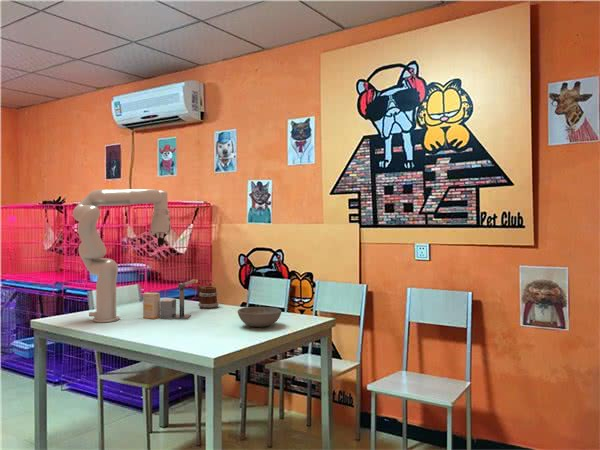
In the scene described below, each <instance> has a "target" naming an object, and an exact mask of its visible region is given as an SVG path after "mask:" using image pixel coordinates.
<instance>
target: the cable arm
mask: <svg viewBox="0 0 600 450" xmlns="http://www.w3.org/2000/svg"><path fill="white" fill-rule="evenodd" d="M198 281H199V280H198V279H190V280H189V281H185V282H180V283H177V285H178V286H177V287H178V288H184V289H185V288H186V286H190V285H192V284H193V285H194V284H198Z"/></svg>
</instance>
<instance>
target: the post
mask: <svg viewBox="0 0 600 450" xmlns="http://www.w3.org/2000/svg"><path fill="white" fill-rule="evenodd" d="M178 291H179V293H178V294H179V314H177V313H176V315H175V316H174V317H172V319H171V320H188V319H190V318H191V317H192V314H191V313H190V314H189V313H188V314H185V288H179V289H178Z"/></svg>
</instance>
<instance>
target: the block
mask: <svg viewBox="0 0 600 450" xmlns="http://www.w3.org/2000/svg"><path fill="white" fill-rule="evenodd" d="M176 314H177V299H176V298H164V299H162V300H160V318H159V320H173V319H172V317H174V316H175V315H176Z"/></svg>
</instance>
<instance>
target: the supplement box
mask: <svg viewBox="0 0 600 450" xmlns="http://www.w3.org/2000/svg"><path fill="white" fill-rule="evenodd" d="M160 301H161V293H160V292H154V291H153V292H151V291H150V292H149V291H147V292H144V293H142V306H143V307H142V312H143V313H142V316H143V319H152V320H156V319H160Z"/></svg>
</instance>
